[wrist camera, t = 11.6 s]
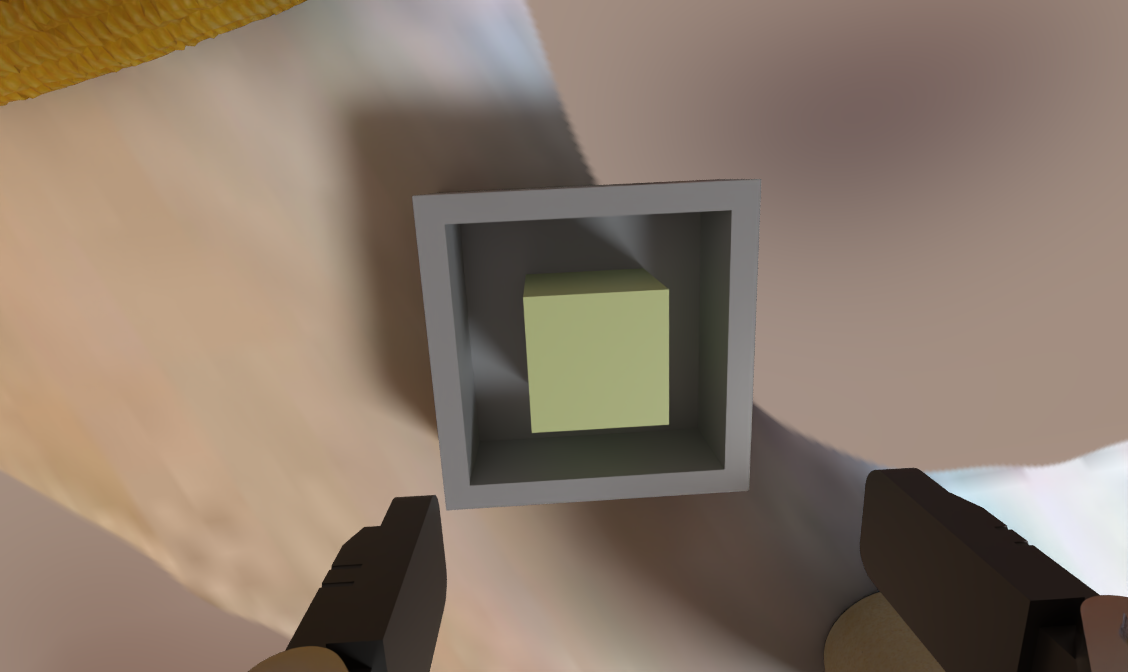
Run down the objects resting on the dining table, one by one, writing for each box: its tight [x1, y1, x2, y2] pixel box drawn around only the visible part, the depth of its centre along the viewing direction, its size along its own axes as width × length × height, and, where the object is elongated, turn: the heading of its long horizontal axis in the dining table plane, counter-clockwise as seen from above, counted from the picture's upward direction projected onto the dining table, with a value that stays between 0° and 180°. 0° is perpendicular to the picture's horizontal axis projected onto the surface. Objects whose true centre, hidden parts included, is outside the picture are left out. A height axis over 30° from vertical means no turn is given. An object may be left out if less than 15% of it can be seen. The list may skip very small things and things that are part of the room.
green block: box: [523, 268, 669, 433], centre depth 23 cm, size 5×5×5 cm
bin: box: [412, 179, 761, 510], centre depth 24 cm, size 12×12×5 cm
